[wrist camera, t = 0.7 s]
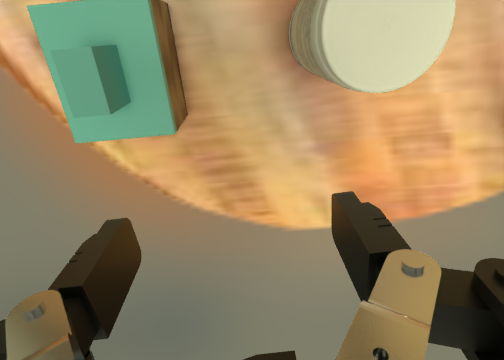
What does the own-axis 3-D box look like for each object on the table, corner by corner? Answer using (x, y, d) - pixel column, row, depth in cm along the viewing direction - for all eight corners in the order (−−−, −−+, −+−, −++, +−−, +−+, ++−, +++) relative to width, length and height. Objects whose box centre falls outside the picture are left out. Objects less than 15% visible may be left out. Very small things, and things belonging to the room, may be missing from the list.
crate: (74, 12, 32) (34, 6, 26) (167, 3, 32) (149, -5, 26) (107, 122, 37) (80, 140, 31) (187, 114, 37) (176, 131, 31)
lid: (42, 8, 27) (-21, -1, 20) (153, -3, 27) (125, -15, 20) (86, 136, 32) (47, 162, 26) (179, 128, 32) (163, 151, 26)
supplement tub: (326, 92, 37) (374, 124, 23) (269, 34, 34) (288, 33, 20) (390, 25, 34) (486, 19, 20) (334, -45, 31) (405, -104, 17)
